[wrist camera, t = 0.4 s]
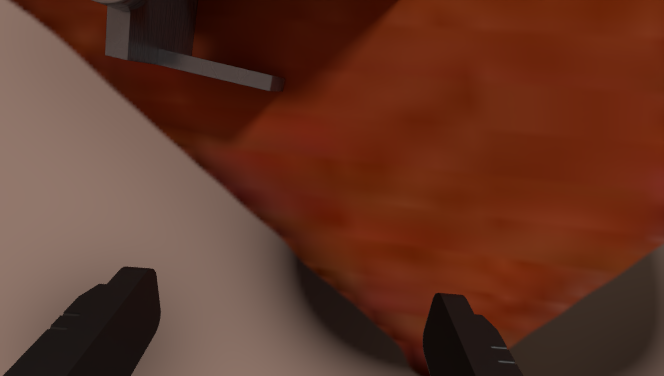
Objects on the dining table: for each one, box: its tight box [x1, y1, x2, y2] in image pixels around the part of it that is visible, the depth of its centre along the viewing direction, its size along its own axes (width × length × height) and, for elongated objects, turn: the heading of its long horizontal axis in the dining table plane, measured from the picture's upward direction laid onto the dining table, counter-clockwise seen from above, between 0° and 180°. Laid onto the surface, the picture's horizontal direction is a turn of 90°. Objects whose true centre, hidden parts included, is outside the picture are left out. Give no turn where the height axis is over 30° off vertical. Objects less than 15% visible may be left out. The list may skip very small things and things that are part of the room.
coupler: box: [93, 0, 285, 91], centre depth 26 cm, size 10×12×12 cm
